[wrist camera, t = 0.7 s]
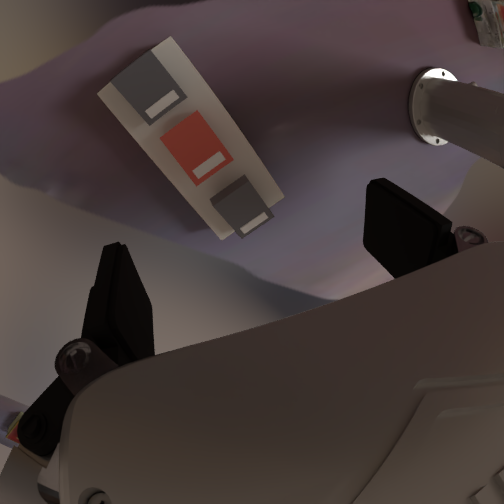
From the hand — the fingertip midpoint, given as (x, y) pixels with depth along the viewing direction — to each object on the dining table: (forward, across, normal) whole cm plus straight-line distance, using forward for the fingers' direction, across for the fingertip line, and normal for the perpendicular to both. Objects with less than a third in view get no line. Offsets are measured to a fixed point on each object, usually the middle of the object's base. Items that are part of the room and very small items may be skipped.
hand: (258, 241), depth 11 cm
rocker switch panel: (+25, 0, +1) cm, 25 cm away
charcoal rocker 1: (+21, +4, -6) cm, 22 cm away
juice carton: (+24, -57, -19) cm, 64 cm away
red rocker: (+21, 0, +1) cm, 21 cm away
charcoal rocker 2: (+21, -3, +8) cm, 23 cm away
